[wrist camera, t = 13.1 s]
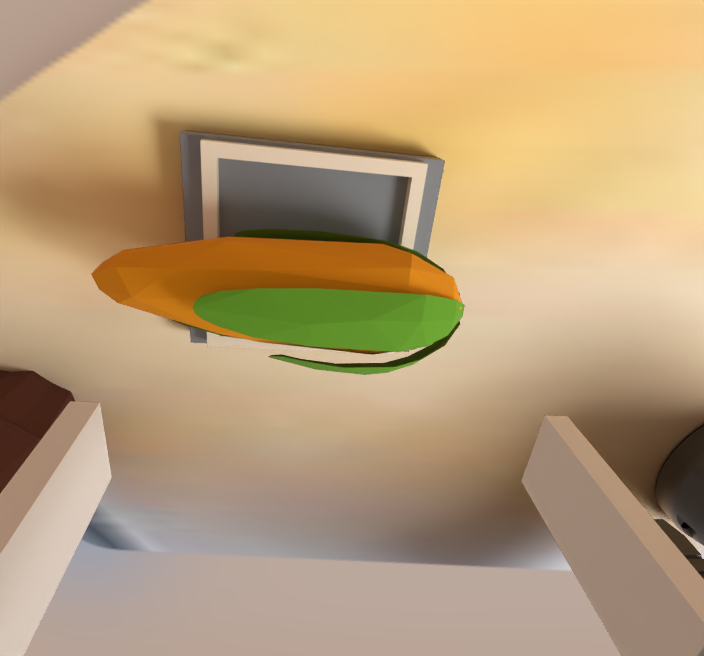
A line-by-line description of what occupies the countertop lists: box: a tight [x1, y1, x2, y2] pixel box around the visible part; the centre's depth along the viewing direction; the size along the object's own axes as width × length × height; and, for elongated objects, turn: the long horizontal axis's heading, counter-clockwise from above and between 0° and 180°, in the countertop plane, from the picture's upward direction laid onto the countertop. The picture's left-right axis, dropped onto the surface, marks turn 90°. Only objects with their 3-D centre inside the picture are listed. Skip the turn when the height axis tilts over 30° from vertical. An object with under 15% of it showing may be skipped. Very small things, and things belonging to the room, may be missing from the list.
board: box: [180, 131, 445, 354], centre depth 29 cm, size 13×15×2 cm
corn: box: [92, 229, 464, 375], centre depth 25 cm, size 7×8×20 cm
